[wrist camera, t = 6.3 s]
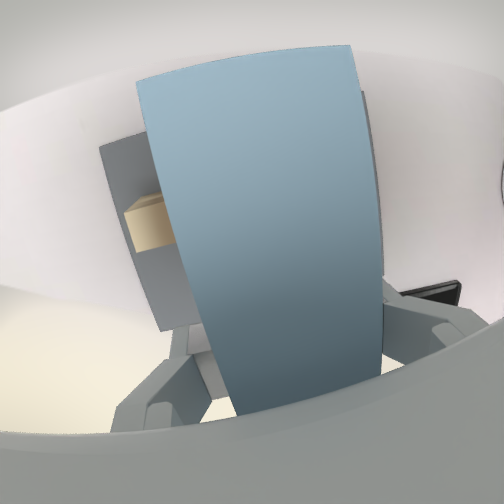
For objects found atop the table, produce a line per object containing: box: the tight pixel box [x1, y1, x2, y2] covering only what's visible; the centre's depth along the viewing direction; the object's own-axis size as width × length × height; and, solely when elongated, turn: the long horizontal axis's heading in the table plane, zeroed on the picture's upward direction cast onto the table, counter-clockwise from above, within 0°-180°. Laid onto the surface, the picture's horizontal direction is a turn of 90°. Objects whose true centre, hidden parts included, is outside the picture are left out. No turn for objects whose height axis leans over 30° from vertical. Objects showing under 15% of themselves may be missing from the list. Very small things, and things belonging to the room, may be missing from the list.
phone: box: [399, 280, 462, 306], centre depth 41 cm, size 8×1×15 cm
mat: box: [99, 91, 384, 332], centre depth 33 cm, size 28×22×1 cm
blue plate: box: [136, 45, 383, 416], centre depth 12 cm, size 4×14×11 cm, turn 12°
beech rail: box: [124, 191, 176, 253], centre depth 29 cm, size 18×4×7 cm, turn 102°
